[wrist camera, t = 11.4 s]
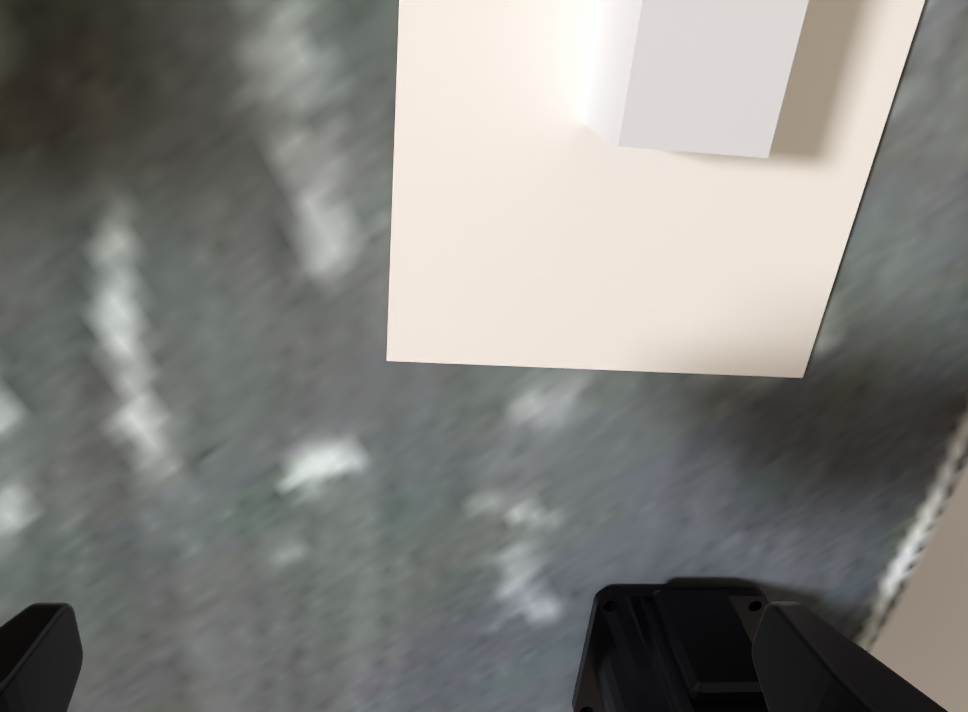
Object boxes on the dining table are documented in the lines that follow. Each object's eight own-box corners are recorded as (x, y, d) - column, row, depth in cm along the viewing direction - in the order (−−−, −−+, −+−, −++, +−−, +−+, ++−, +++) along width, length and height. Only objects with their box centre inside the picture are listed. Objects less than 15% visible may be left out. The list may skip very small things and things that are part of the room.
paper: (799, 374, 22) (802, 378, 22) (387, 358, 21) (386, 360, 20) (1047, -396, 14) (1055, -402, 14) (417, -519, 13) (417, -527, 13)
